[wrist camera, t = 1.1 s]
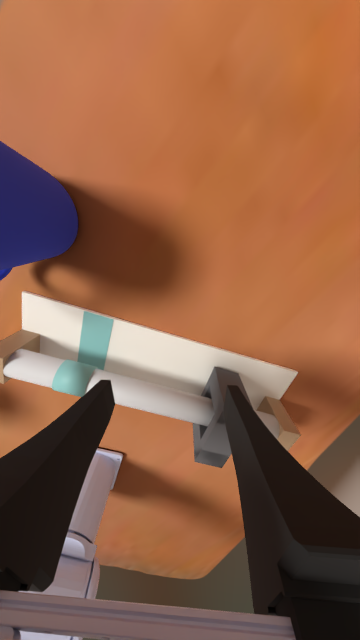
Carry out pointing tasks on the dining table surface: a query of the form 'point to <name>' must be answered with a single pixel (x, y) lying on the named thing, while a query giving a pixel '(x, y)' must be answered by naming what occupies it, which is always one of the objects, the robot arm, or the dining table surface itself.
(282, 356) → the dining table surface
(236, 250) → the dining table surface
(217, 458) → the collar
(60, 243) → the mug
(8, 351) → the linear rail slide
